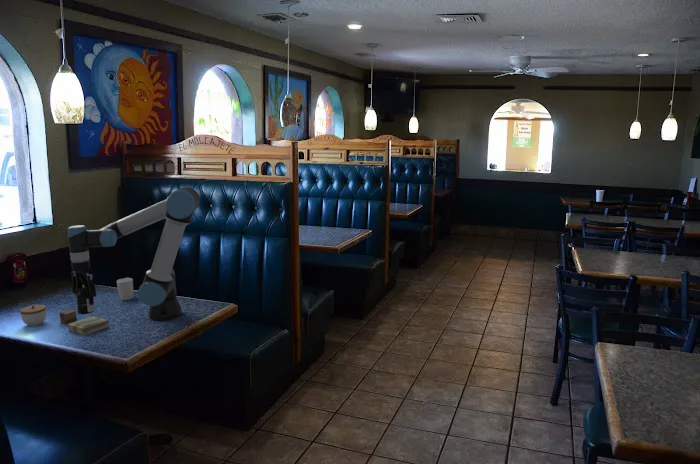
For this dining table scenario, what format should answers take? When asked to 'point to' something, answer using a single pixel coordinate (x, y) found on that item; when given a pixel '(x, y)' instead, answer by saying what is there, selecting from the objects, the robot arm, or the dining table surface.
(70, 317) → the walnut cube
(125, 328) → the dining table surface
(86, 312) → the supplement bottle
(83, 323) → the plinth
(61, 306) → the dining table surface
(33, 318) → the lidded jar
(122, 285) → the white cup
